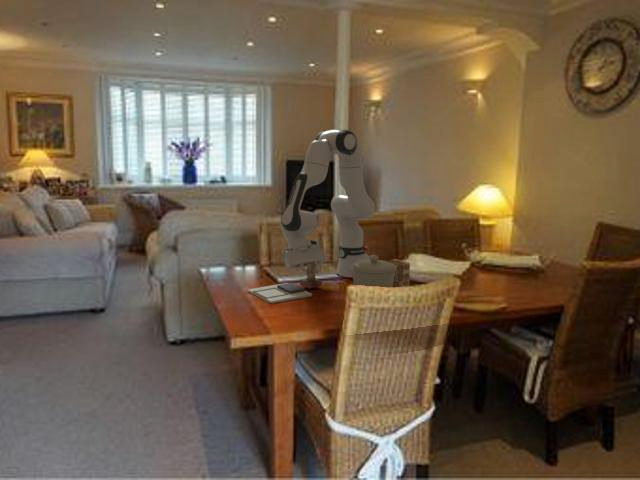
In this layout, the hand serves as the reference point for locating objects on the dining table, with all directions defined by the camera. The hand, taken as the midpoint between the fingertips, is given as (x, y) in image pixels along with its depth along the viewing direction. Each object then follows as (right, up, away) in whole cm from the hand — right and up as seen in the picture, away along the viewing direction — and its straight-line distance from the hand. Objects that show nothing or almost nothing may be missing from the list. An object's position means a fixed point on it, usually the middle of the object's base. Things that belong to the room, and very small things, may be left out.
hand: (311, 272), depth 233 cm
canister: (+24, -12, -23) cm, 36 cm away
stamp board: (-14, -8, -8) cm, 18 cm away
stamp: (0, -6, +2) cm, 6 cm away
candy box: (+37, -10, -8) cm, 39 cm away
